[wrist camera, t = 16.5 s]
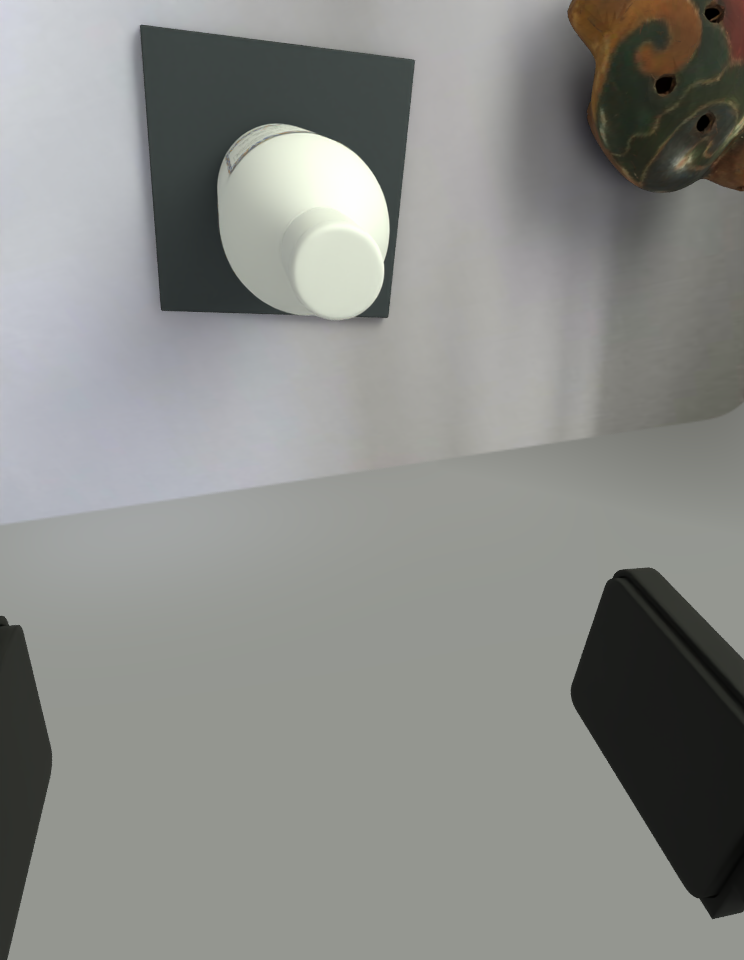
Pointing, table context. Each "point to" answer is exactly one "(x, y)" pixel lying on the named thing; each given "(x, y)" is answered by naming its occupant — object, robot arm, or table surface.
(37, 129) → the table surface
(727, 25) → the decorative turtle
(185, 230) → the mat
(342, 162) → the bath foam
